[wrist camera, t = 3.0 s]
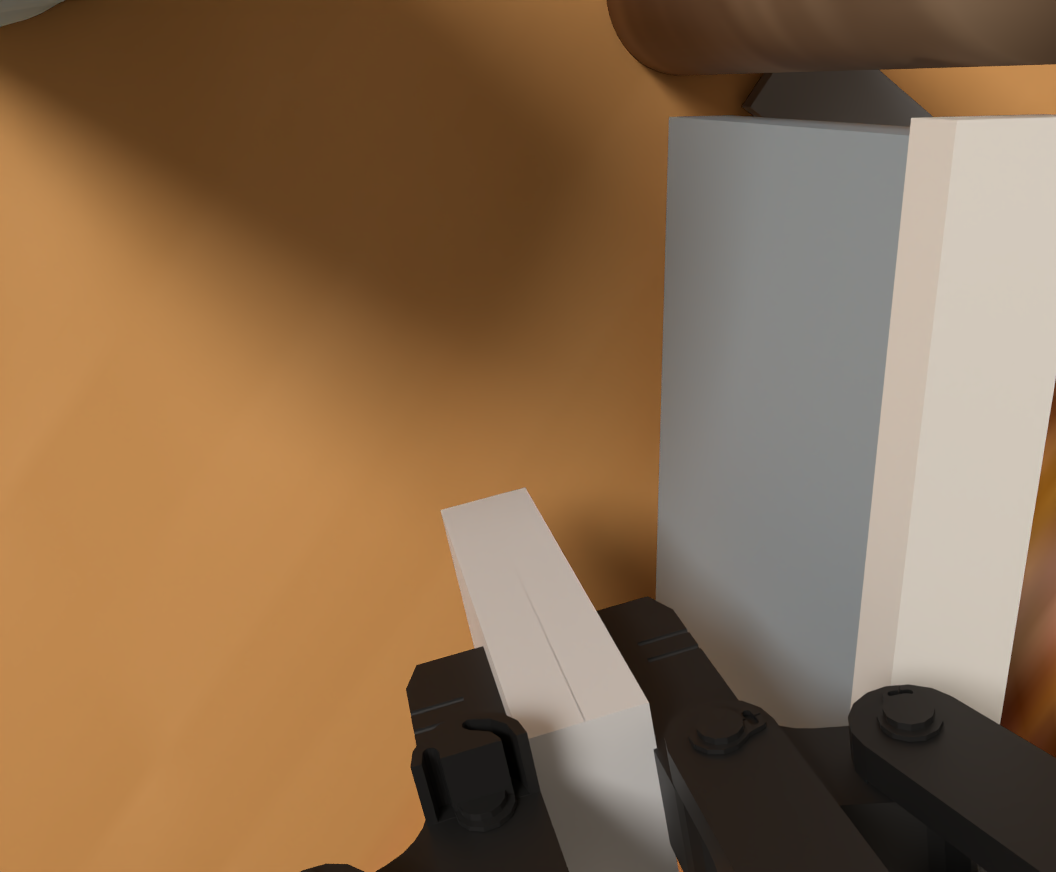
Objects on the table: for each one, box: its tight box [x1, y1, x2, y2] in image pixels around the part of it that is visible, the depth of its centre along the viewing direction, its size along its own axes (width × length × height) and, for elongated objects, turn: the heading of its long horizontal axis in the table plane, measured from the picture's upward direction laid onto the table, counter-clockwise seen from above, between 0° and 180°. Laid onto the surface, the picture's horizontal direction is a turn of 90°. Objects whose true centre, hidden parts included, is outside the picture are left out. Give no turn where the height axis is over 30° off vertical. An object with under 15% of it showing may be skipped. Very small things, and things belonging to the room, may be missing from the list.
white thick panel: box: [656, 114, 1056, 728], centre depth 16 cm, size 12×2×9 cm, turn 1°
